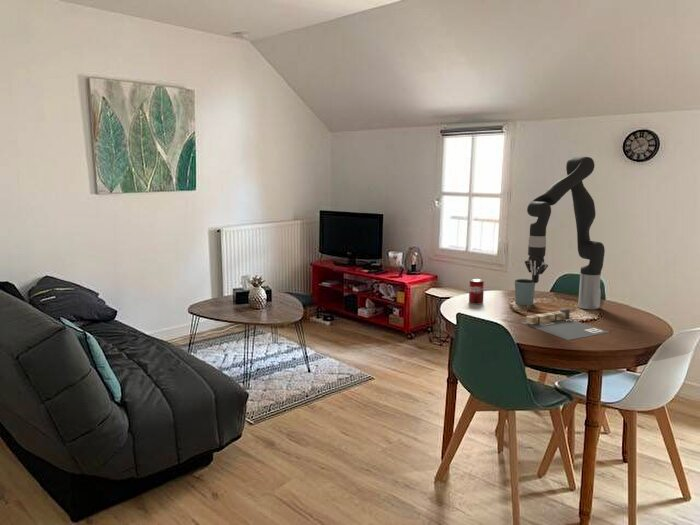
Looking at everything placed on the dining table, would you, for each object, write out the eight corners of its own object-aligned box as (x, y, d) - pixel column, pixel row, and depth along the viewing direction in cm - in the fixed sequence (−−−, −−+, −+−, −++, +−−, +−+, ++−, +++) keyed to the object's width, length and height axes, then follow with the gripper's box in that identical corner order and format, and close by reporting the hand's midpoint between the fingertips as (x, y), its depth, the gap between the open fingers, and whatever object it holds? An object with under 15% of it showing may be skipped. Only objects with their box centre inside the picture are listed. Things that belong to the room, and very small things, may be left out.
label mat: (560, 316, 253) (560, 315, 253) (610, 332, 228) (610, 331, 228) (519, 322, 243) (519, 322, 243) (567, 340, 218) (567, 339, 218)
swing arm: (564, 316, 251) (564, 307, 250) (571, 318, 247) (572, 309, 246) (525, 322, 241) (525, 313, 241) (532, 324, 237) (532, 316, 237)
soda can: (483, 305, 274) (484, 282, 272) (468, 304, 276) (469, 281, 274) (482, 301, 281) (483, 279, 279) (468, 300, 283) (469, 278, 281)
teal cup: (536, 306, 271) (538, 282, 269) (516, 306, 271) (517, 283, 269) (530, 301, 281) (531, 278, 279) (511, 301, 281) (512, 278, 279)
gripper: (554, 246, 240) (551, 284, 243) (533, 243, 252) (531, 279, 255) (541, 247, 237) (539, 286, 240) (520, 244, 249) (518, 280, 252)
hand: (535, 282), depth 248 cm, fingers closed
